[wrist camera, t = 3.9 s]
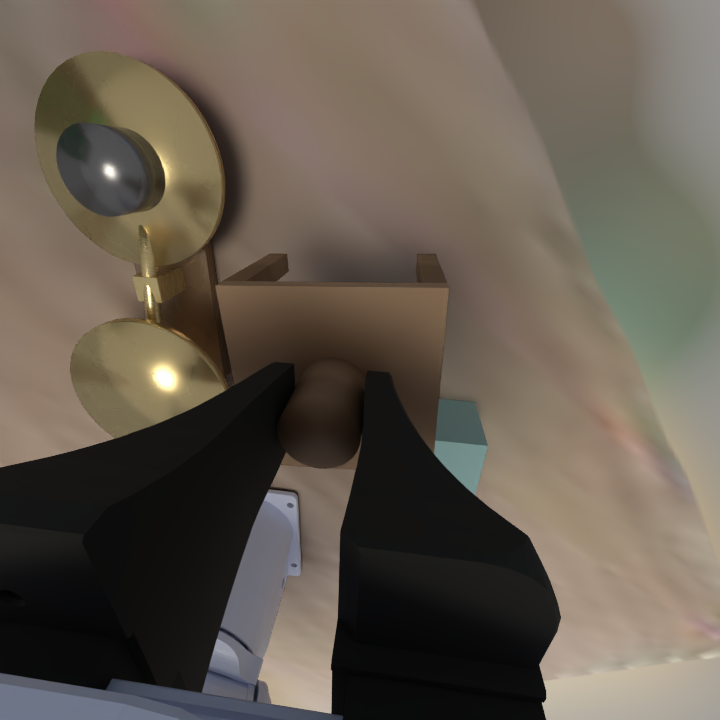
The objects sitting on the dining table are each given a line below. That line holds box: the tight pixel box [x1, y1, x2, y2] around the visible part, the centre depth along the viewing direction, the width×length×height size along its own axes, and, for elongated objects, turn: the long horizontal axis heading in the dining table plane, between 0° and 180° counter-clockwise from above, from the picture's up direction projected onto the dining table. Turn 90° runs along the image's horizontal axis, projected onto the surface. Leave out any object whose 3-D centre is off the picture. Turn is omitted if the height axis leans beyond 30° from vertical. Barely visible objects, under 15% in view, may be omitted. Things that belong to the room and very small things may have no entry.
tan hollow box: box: [215, 254, 449, 470], centre depth 13 cm, size 7×7×7 cm
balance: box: [35, 51, 230, 439], centre depth 18 cm, size 18×8×5 cm, turn 177°
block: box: [434, 399, 488, 495], centre depth 21 cm, size 4×4×4 cm
